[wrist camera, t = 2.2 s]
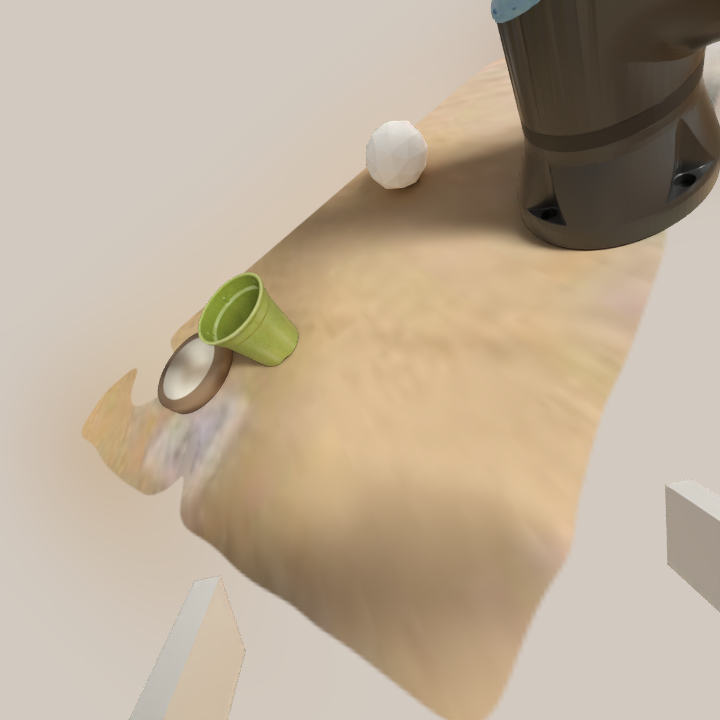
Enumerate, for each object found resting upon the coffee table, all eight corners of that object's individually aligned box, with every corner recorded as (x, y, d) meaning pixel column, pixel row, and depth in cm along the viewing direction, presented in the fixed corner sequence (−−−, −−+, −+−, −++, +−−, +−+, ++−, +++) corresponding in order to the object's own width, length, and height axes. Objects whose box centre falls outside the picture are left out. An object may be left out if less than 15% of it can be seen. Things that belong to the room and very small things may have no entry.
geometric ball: (416, 205, 54) (378, 197, 48) (383, 171, 57) (342, 159, 51) (451, 152, 50) (413, 135, 44) (412, 118, 53) (372, 98, 47)
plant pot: (297, 378, 46) (243, 339, 39) (241, 381, 51) (185, 347, 45) (318, 310, 50) (272, 265, 43) (264, 319, 55) (216, 280, 49)
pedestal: (190, 341, 62) (179, 334, 61) (243, 332, 56) (232, 324, 54) (158, 414, 57) (144, 408, 56) (212, 413, 51) (199, 407, 49)
